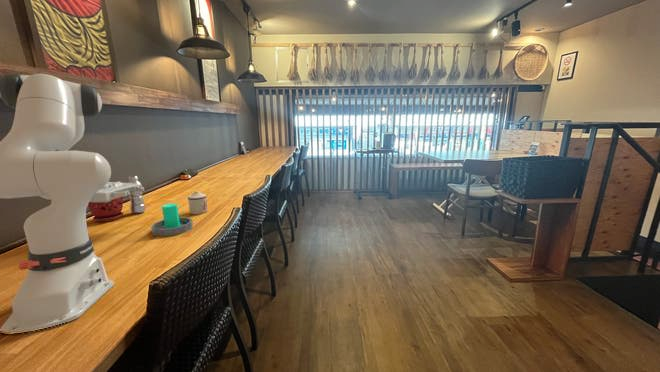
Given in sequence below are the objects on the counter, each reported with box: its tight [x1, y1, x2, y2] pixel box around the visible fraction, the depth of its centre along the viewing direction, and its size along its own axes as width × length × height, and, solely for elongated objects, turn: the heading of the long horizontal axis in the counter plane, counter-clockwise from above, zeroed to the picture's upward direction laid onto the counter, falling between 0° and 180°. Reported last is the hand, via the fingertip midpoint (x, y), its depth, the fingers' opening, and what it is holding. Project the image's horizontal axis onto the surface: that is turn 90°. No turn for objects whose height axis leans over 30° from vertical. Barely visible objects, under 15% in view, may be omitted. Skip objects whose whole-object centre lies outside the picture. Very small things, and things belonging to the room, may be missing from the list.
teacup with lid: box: [187, 190, 208, 215], centre depth 141 cm, size 12×9×12 cm
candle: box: [161, 201, 180, 229], centre depth 116 cm, size 6×6×12 cm
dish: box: [150, 216, 194, 237], centre depth 117 cm, size 15×15×3 cm
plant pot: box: [87, 197, 124, 223], centre depth 129 cm, size 13×13×12 cm
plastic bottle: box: [128, 175, 147, 214], centre depth 137 cm, size 6×7×20 cm
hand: (135, 191), depth 111 cm, fingers open, 8 cm apart
